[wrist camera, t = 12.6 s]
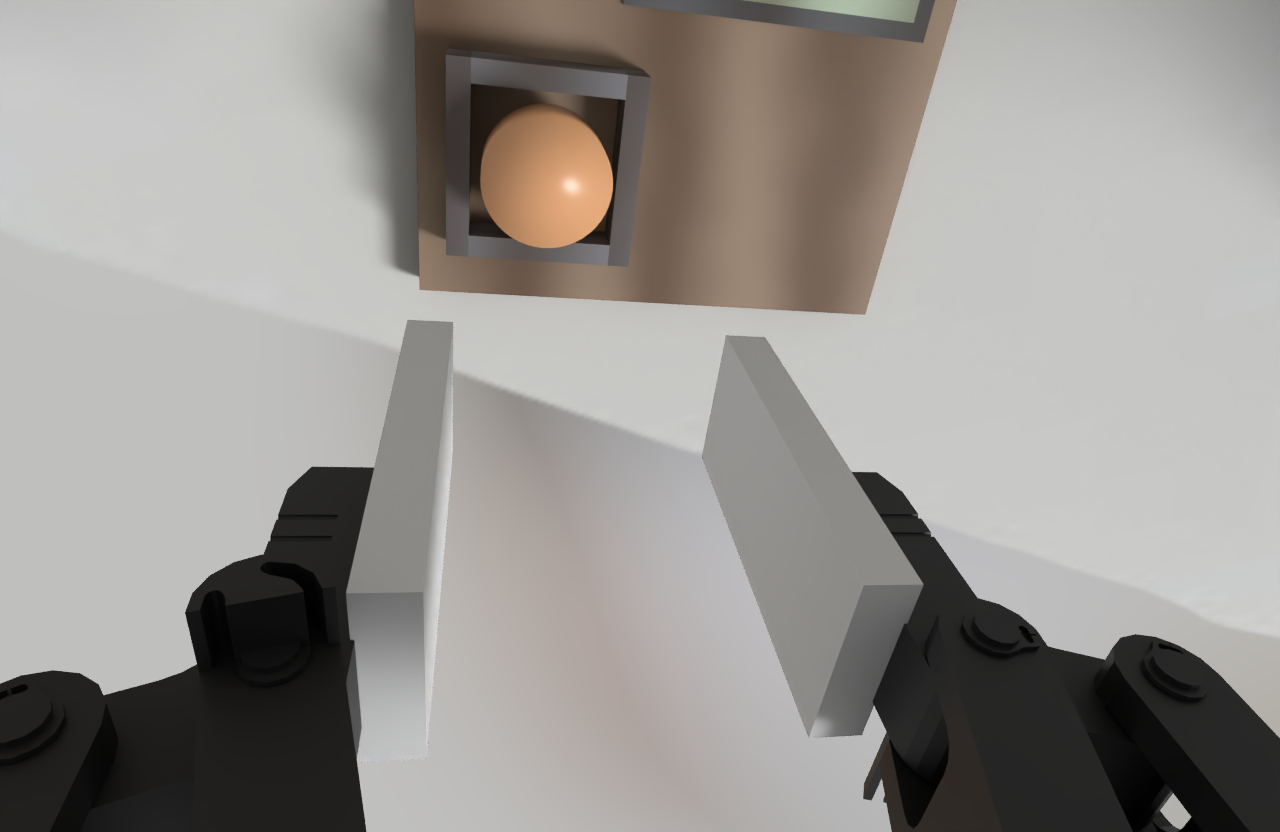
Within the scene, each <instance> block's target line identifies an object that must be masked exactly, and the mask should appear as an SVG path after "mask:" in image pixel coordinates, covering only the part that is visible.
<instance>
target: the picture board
mask: <svg viewBox="0 0 1280 832" xmlns="http://www.w3.org/2000/svg"><path fill="white" fill-rule="evenodd" d="M956 2H957V0H414V23H415V74H416V126H417V178H418V229H419V281H420V290H433V291H450V292H468V293H486V294H504V295H522V296H540V297H558V298H576V299H594V300H612V301H630V302H648V303H666V304H684V305H702V306H720V307H738V308H756V309H774V310H792V311H809V312H827V313H845V314H863V315H865V313H866V310H867V306H868V303H869V299H870V296H871V293H872V289H873V286H874V282H875V279H876V276H877V272H878V269H879V265H880V262H881V258H882V255H883V252H884V248H885V245H886V241H887V238H888V235H889V231H890V228H891V224H892V221H893V217H894V214H895V211H896V207H897V204H898V200H899V197H900V194H901V190H902V187H903V183H904V180H905V176H906V173H907V170H908V166H909V163H910V159H911V156H912V153H913V149H914V146H915V142H916V139H917V135H918V132H919V129H920V125H921V122H922V118H923V115H924V112H925V108H926V105H927V101H928V98H929V94H930V91H931V88H932V84H933V81H934V77H935V74H936V71H937V67H938V64H939V60H940V57H941V53H942V50H943V47H944V43H945V40H946V36H947V33H948V30H949V26H950V23H951V19H952V16H953V12H954V9H955V6H956ZM531 104H553V105H558V106H561V107H564V108H567V109H569V110H571V111H573V112H574V113H576V114H578V115H579V116H581V117H582V118H583V119H584V120H585V121H586V122H587V123H588V124H589V125H590V126H591V127H592V128H593V130H594V131H595V133H596V134H597V136H598V138H599V140H600V142H601V144H602V146H603V148H604V150H605V152H606V154H607V157H608V159H609V162H610V165H611V170H612V176H613V191H612V197H611V201H610V204H609V207H608V209H607V211H606V214H605V215H604V217H603V219H602V220H601V222H600V223H599V224H598V225H597V227H596V228H595V229H594V230H593V231H592V232H590V233H589V234H588V235H587V236H585V237H584V238H582V239H580V240H579V241H577V242H575V243H572V244H570V245H566V246H562V247H557V248H539V247H533V246H530V245H526V244H524V243H521V242H519V241H517V240H515V239H513V238H512V237H510V236H509V235H508V234H506V233H505V232H504V231H503V230H502V229H501V228H499V227H498V225H497V224H496V223H495V222H494V220H493V219H492V217H491V216H490V214H489V213H488V211H487V208H486V206H485V204H484V201H483V197H482V192H481V183H480V176H481V162H482V153H483V149H484V146H485V143H486V140H487V138H488V136H489V134H490V132H491V131H492V130H493V128H494V127H495V125H496V124H497V123H498V122H499V121H500V120H501V119H502V118H504V117H505V116H506V115H507V114H509V113H511V112H512V111H514V110H516V109H518V108H521V107H523V106H527V105H531Z"/></svg>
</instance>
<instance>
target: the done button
mask: <svg viewBox="0 0 1280 832" xmlns="http://www.w3.org/2000/svg"><path fill="white" fill-rule="evenodd" d="M480 183H481V192H482V197H483V201H484V204H485V206H486V208H487V211H488V213H489V214H490V216H491V217H492V219H493V220H494V222H495V223H496V224H497V225H498V227H499V228H501V229H502V230H503V231H504V232H505V233H506V234H508V235H509V236H510V237H512V238H513V239H515V240H517V241H519V242H521V243H524V244H526V245H530V246H533V247H539V248H557V247H562V246H566V245H570V244H572V243H575V242H577V241H579V240H580V239H582V238H584V237H585V236H587V235H588V234H589V233H590V232H592V231H593V230H594V229H595V228H596V227H597V225H598V224H599V223H600V222H601V220H602V219H603V217H604V215H605V214H606V211H607V209H608V207H609V204H610V201H611V197H612V191H613V176H612V170H611V165H610V162H609V159H608V157H607V154H606V152H605V150H604V148H603V146H602V144H601V142H600V140H599V138H598V136H597V134H596V133H595V131H594V130H593V128H592V127H591V126H590V125H589V124H588V123H587V122H586V121H585V120H584V119H583V118H582V117H581V116H579V115H578V114H576V113H574V112H573V111H571V110H569V109H567V108H564V107H561V106H558V105H553V104H531V105H527V106H523V107H521V108H518V109H516V110H514V111H512V112H511V113H509V114H507V115H506V116H505V117H504V118H502V119H501V120H500V121H499V122H498V123H497V124H496V125H495V127H494V128H493V130H492V131H491V132H490V134H489V136H488V138H487V140H486V143H485V146H484V149H483V153H482V162H481V176H480Z"/></svg>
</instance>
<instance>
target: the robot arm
mask: <svg viewBox="0 0 1280 832" xmlns="http://www.w3.org/2000/svg"><path fill="white" fill-rule="evenodd" d="M452 454H453V322H439V321H418V320H407V325H406V329H405V334H404V338H403V343H402V347H401V351H400V356H399V361H398V365H397V369H396V374H395V379H394V383H393V387H392V391H391V396H390V400H389V405H388V409H387V414H386V419H385V422H384V427H383V431H382V436H381V440H380V445H379V449H378V454H377V458H376V462H375V467H374V468H363V467H360V468H359V467H311V468H310V469H309V470H308V471H307V472H306V473H305V474H304V475H302V476H301V477H300V478H299V479H298V480H297V481H296V482H295V483H294V484H293V485H292V486H290V487H289V488H288V490H287V493H286V495H285V498H284V501H283V504H282V506H281V509H280V512H279V514H278V520H276V523H275V525H274V528H273V531H272V533H271V540H270V541H269V542H268V544H267V547H266V550H265V552H264V555H259V556H255V557H252V558H248V559H244V560H241V561H237V562H234V563H232V564H230V565H228V566H226V567H225V568H223V569H221V570H219V571H217V572H215V573H214V574H212V575H210V576H209V577H208V578H207V579H206V580H205V581H204V582H203V583H202V584H201V585H200V586H199V587H198V588H197V589H196V590H195V591H194V592H193V593H192V596H191V598H190V601H189V604H188V607H187V609H186V612H185V614H186V618H187V623H188V627H189V631H190V636H191V640H192V643H193V648H194V652H195V657H196V661H197V665H195V666H193V667H191V668H189V669H187V670H186V671H184V672H182V673H179V674H177V675H173V676H170V677H168V678H165V679H162V680H159V681H156V682H152V683H148V684H145V685H141V686H137V687H133V688H129V689H126V690H122V691H118V692H115V693H111V694H107V695H103V694H102V691H101V689H100V687H99V685H98V684H97V683H95V682H94V681H92V680H90V679H89V678H87V677H85V676H83V675H82V674H80V673H71V672H62V671H47V672H41V673H35V674H29V675H22V676H19V677H16V678H14V679H11V680H9V681H6V682H4V683H1V684H0V832H366V826H365V818H364V811H363V804H362V797H361V789H360V781H359V774H358V767H357V753H358V747H359V746H360V758H361V762H376V761H394V760H414V759H426V758H427V749H428V737H429V725H430V714H431V701H432V690H433V678H434V667H435V655H436V654H435V653H436V642H437V630H438V618H439V607H440V595H441V584H442V571H443V560H444V548H445V537H446V536H445V535H446V524H447V513H448V500H449V489H450V478H451V466H452ZM702 459H703V461H704V464H705V466H706V469H707V472H708V474H709V477H710V480H711V482H712V485H713V488H714V490H715V493H716V496H717V498H718V500H719V503H720V506H721V509H722V511H723V514H724V517H725V519H726V522H727V524H728V527H729V530H730V532H731V535H732V538H733V540H734V543H735V545H736V548H737V551H738V553H739V556H740V559H741V561H742V564H743V566H744V569H745V572H746V574H747V577H748V579H749V582H750V585H751V587H752V590H753V593H754V595H755V598H756V601H757V603H758V606H759V608H760V611H761V614H762V616H763V619H764V622H765V624H766V627H767V630H768V632H769V635H770V637H771V640H772V643H773V645H774V647H775V651H776V653H777V656H778V658H779V661H780V664H781V666H782V669H783V672H784V674H785V677H786V679H787V682H788V684H789V687H790V690H791V692H792V695H793V698H794V700H795V703H796V706H797V708H798V711H799V714H800V716H801V719H802V721H803V724H804V727H805V729H806V732H807V735H808V737H809V738H816V737H835V736H853V735H862V733H863V731H864V728H865V726H866V723H867V721H868V718H869V716H870V714H871V711H872V709H873V706H875V708H876V710H877V712H878V714H879V716H880V718H881V721H882V723H883V725H884V727H885V729H886V731H887V733H886V735H885V737H884V739H883V742H882V744H881V746H880V749H879V751H878V753H877V756H876V758H875V760H874V762H873V765H872V767H871V769H870V771H869V774H868V776H867V778H866V781H865V783H864V797H863V798H864V799H867V800H872V798H873V796H874V794H875V792H876V789H877V787H878V785H879V782H880V780H881V778H882V781H883V787H884V792H885V797H884V802H885V803H887V808H888V813H889V819H890V824H891V830H892V832H1280V738H1279V737H1278V736H1277V735H1276V734H1275V733H1274V732H1273V731H1272V730H1271V729H1270V728H1269V727H1268V726H1267V724H1266V723H1265V722H1264V721H1263V720H1262V719H1261V718H1260V717H1259V716H1258V715H1257V714H1256V713H1255V712H1254V711H1253V710H1252V709H1251V708H1250V707H1249V705H1248V704H1247V703H1246V702H1245V701H1244V700H1243V699H1242V698H1241V697H1240V696H1239V695H1238V694H1237V693H1236V692H1235V691H1234V690H1233V689H1232V687H1231V686H1230V685H1229V684H1228V683H1226V681H1225V680H1224V679H1223V678H1222V677H1221V676H1220V675H1219V674H1218V673H1217V672H1216V671H1214V670H1213V669H1212V668H1211V667H1210V666H1209V665H1208V664H1206V663H1205V662H1204V661H1203V660H1202V659H1201V658H1199V657H1197V656H1195V655H1194V654H1192V653H1190V652H1189V651H1187V650H1185V649H1184V648H1182V647H1180V646H1178V645H1175V644H1173V643H1171V642H1168V641H1165V640H1162V639H1159V638H1157V637H1152V636H1144V635H1136V634H1135V635H1131V636H1127V637H1122V638H1120V639H1119V641H1118V642H1117V643H1116V644H1115V646H1114V647H1113V648H1112V650H1111V651H1110V653H1109V655H1108V656H1107V658H1106V660H1103V659H1099V658H1094V657H1090V656H1086V655H1082V654H1077V653H1073V652H1069V651H1064V650H1060V649H1055V648H1052V647H1048V646H1047V645H1046V643H1045V642H1044V640H1043V639H1042V637H1041V636H1040V634H1039V633H1038V632H1037V630H1036V629H1035V628H1034V627H1033V626H1032V625H1030V624H1029V623H1028V622H1027V621H1026V620H1024V619H1023V618H1022V617H1021V616H1020V615H1018V614H1016V613H1014V612H1013V611H1011V610H1009V609H1007V608H1005V607H1003V606H1001V605H999V604H996V603H993V602H989V601H985V600H982V599H979V598H977V597H976V595H975V594H974V593H973V591H972V590H971V588H970V587H969V585H968V584H967V583H966V581H965V580H964V578H963V577H962V576H961V574H960V573H959V572H958V570H957V568H956V567H955V566H954V564H953V563H952V561H951V560H950V559H949V557H948V556H947V555H946V553H945V552H944V550H943V549H942V547H941V546H940V545H939V543H938V542H937V541H936V539H935V538H934V537H931V532H930V531H929V529H928V528H927V526H926V525H925V523H924V522H923V520H922V519H918V513H917V512H916V511H915V509H914V508H913V506H912V505H911V504H910V502H909V501H908V499H907V498H906V496H905V495H904V494H903V492H902V491H900V490H899V489H898V488H896V487H895V486H894V485H892V484H891V483H890V482H889V481H887V480H886V479H885V478H883V477H882V476H881V475H879V474H878V473H877V472H851V470H850V469H849V467H848V466H847V464H846V463H845V461H844V460H843V458H842V456H841V455H840V453H839V452H838V450H837V449H836V447H835V446H834V444H833V442H832V441H831V439H830V438H829V436H828V435H827V433H826V431H825V430H824V428H823V427H822V425H821V424H820V422H819V421H818V419H817V417H816V416H815V414H814V413H813V411H812V410H811V408H810V407H809V405H808V403H807V402H806V400H805V399H804V397H803V396H802V394H801V393H800V391H799V389H798V388H797V386H796V385H795V383H794V382H793V380H792V379H791V377H790V375H789V374H788V372H787V371H786V369H785V368H784V366H783V364H782V363H781V361H780V360H779V358H778V357H777V355H776V354H775V352H774V350H773V349H772V347H771V346H770V344H769V343H768V341H767V340H766V338H765V337H748V336H727V335H726V338H725V343H724V348H723V354H722V359H721V364H720V369H719V374H718V379H717V384H716V389H715V394H714V399H713V404H712V409H711V414H710V419H709V424H708V429H707V434H706V439H705V444H704V449H703V454H702ZM1173 793H1174V795H1175V796H1176V797H1177V798H1178V800H1179V801H1180V802H1181V804H1182V805H1183V806H1184V808H1185V809H1186V810H1187V812H1188V813H1189V814H1190V815H1191V818H1190V820H1189V821H1188V822H1187V823H1186V825H1185V826H1184V827H1183V828H1182V829H1181V830H1180V829H1178V828H1176V827H1174V826H1173V825H1172V824H1171V823H1170V822H1169V821H1168V820H1167V819H1166V818H1165V817H1164V815H1163V814H1162V813H1161V811H1160V810H1161V808H1162V807H1163V806H1164V804H1165V803H1166V802H1167V800H1168V799H1169V798H1170V796H1171V795H1172V794H1173Z"/></svg>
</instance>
